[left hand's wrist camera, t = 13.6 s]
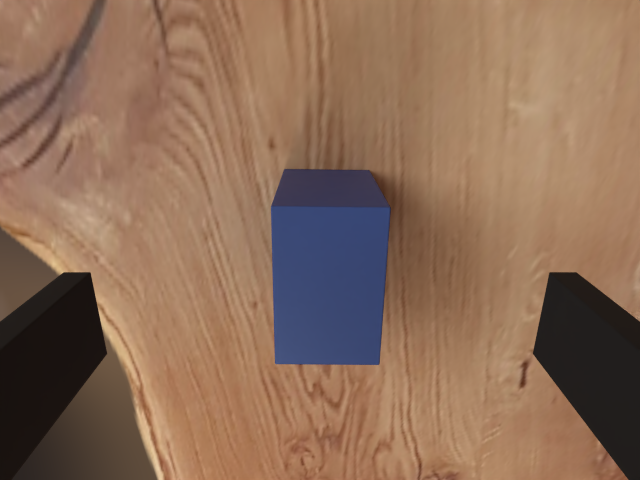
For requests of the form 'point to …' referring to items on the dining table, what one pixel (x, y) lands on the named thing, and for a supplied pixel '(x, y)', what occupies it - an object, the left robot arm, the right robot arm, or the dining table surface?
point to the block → (329, 267)
